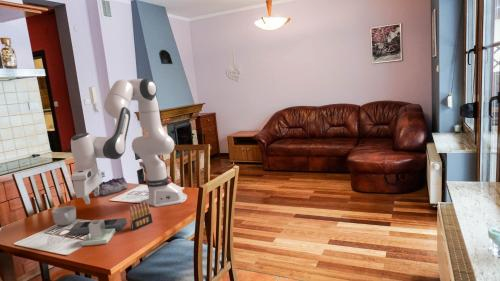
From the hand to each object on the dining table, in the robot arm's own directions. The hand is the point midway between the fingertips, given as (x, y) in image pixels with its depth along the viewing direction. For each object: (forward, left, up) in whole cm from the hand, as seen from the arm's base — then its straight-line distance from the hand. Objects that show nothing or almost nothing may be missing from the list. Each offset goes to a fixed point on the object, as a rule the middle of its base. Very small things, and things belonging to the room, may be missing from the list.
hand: (92, 199), depth 151 cm
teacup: (+25, -21, -19) cm, 38 cm away
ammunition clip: (-17, -10, -19) cm, 28 cm away
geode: (+18, -68, -20) cm, 73 cm away
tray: (0, 0, -19) cm, 19 cm away
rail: (+4, -11, -19) cm, 22 cm away
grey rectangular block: (0, 0, -19) cm, 19 cm away
